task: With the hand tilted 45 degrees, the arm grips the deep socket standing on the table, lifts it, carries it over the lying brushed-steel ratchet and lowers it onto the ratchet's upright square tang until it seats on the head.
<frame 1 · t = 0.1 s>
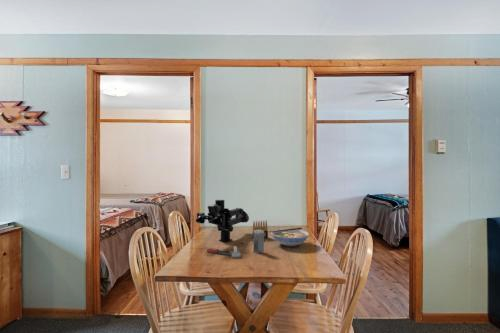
hand: (202, 221, 152), 17 cm above the table, tool horizontal, fingers open, 9 cm apart
ammunition clip: (260, 238, 180), on the table
ramen bowl: (289, 245, 164), on the table
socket: (258, 252, 149), on the table
ratchet: (235, 255, 142), on the table
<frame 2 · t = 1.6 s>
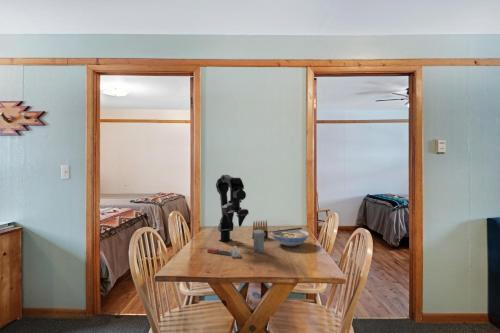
hand: (235, 225, 158), 13 cm above the table, tool pointing down, fingers open, 9 cm apart
nothing on the table moved.
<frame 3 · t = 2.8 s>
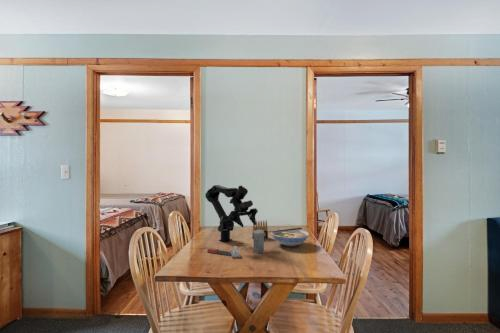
hand: (249, 225, 155), 13 cm above the table, tool tilted 45°, fingers open, 9 cm apart
nothing on the table moved.
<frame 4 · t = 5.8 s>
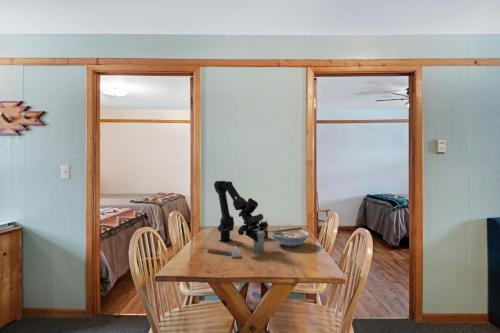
hand: (260, 240, 148), 7 cm above the table, tool tilted 45°, fingers closed on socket, 4 cm apart
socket: (258, 252, 149), on the table, touching gripper
everything else where it was.
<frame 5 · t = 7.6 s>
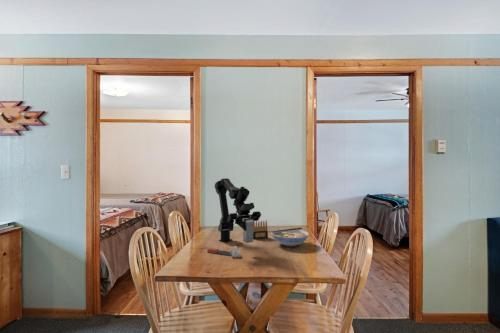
hand: (249, 230, 144), 13 cm above the table, tool tilted 45°, fingers closed on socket, 4 cm apart
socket: (248, 241, 145), point 7 cm above the table, touching gripper
everything else where it was.
when the fingers open (10 cm above the table, at t = 9.4 s): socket drops 1 cm, resting on ratchet.
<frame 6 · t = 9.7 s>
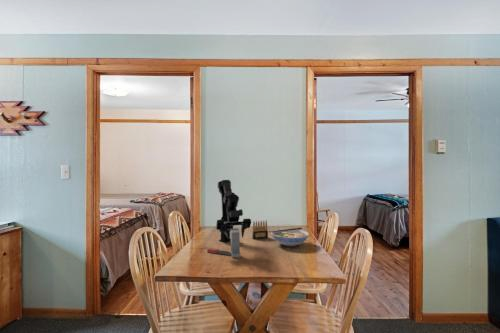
hand: (235, 237, 141), 10 cm above the table, tool tilted 45°, fingers open, 7 cm apart
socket: (235, 252, 142), point 2 cm above the table, touching ratchet
everything else where it was.
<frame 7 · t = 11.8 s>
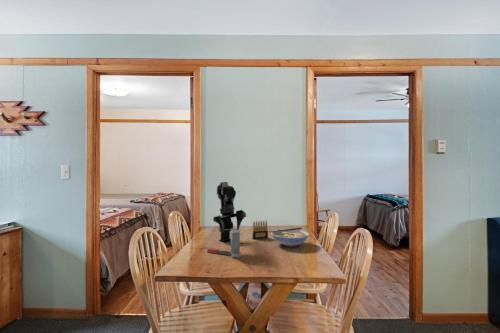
hand: (230, 231, 153), 11 cm above the table, tool tilted 30°, fingers open, 9 cm apart
nothing on the table moved.
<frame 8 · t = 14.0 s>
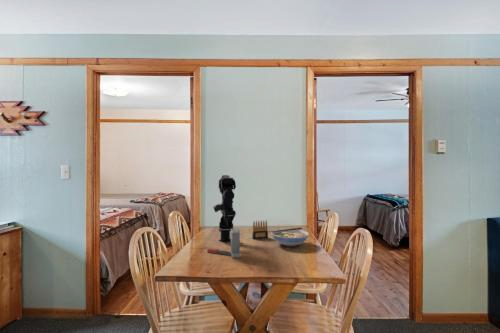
hand: (227, 225, 158), 13 cm above the table, tool pointing down, fingers open, 9 cm apart
nothing on the table moved.
at the end: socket 0.1 cm from the ratchet (horizontally); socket point 2.0 cm above the table; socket tilted 0° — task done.
